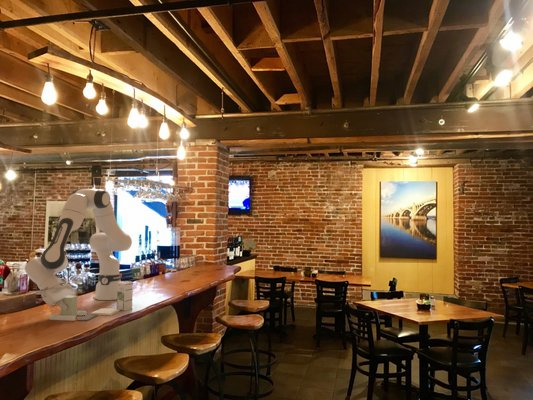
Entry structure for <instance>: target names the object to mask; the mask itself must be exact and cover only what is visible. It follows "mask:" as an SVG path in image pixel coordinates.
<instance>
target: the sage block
mask: <svg viewBox="0 0 533 400" xmlns="http://www.w3.org/2000/svg"><path fill="white" fill-rule="evenodd" d="M63 298H64V299H63V300H62V301H63V303H64V304H65V305H66V304H67V305H68V308H67V309H66V310H64V309H63V308H62V307H60V315H64V316H76V317H78V315H77V311H78V310H77V309H78V295H75V296H72V295H68V296H66V297H63Z"/></svg>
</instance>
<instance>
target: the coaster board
mask: <svg viewBox="0 0 533 400" xmlns="http://www.w3.org/2000/svg"><path fill="white" fill-rule="evenodd" d="M118 312H120V310H119V309H117V308H103V307H101V308H99V309H97V310H94V311H93V312H91V313H90V314H98V316H110V317H111V316H113V315H115V314H117V313H118Z"/></svg>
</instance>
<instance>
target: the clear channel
mask: <svg viewBox="0 0 533 400" xmlns="http://www.w3.org/2000/svg"><path fill="white" fill-rule="evenodd" d="M84 315H85V316H84ZM77 316H81V317H79V318H77ZM77 316H64V315H61V314H60V315H59V314H58V315H57V314H50V315H49V320H50V321H76V322H88V321H90V320H93V319H95V318H96V317H98V316H99V315H98V314H91V313H87V310H77Z"/></svg>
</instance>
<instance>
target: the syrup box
mask: <svg viewBox="0 0 533 400" xmlns="http://www.w3.org/2000/svg"><path fill="white" fill-rule="evenodd" d="M133 289H134V282H133V281H130V280H129V281H128V280H121V282H118V291H117V299H116V309H119V311H124V312H125V311H129V310H132V309H133V291H134V290H133Z"/></svg>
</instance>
